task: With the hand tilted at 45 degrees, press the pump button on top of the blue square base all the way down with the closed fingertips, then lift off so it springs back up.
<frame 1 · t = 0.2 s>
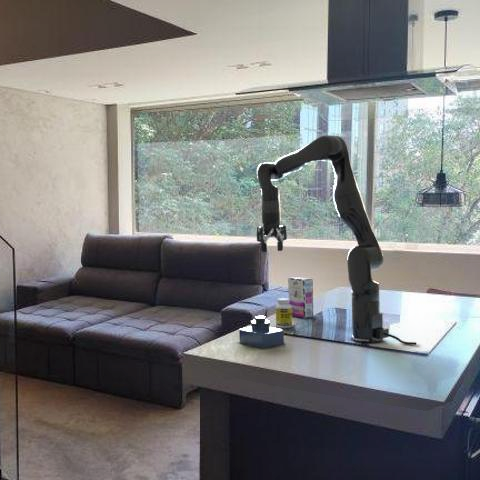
hand: (272, 251, 243), 29 cm above the table, tool pointing down, fingers open, 8 cm apart
pill bottle: (284, 327, 234), on the table
blue square base: (261, 343, 209), on the table
pump button: (260, 319, 213), point 8 cm above the table, slide at 0.1 cm
candy bar box: (301, 316, 254), on the table
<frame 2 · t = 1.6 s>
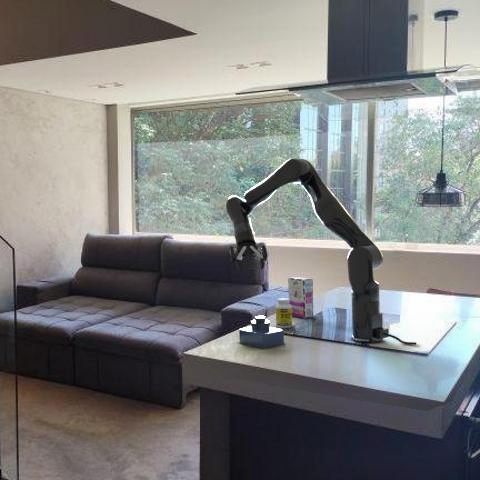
hand: (251, 268, 224), 25 cm above the table, tool tilted 45°, fingers open, 7 cm apart
nothing on the table moved.
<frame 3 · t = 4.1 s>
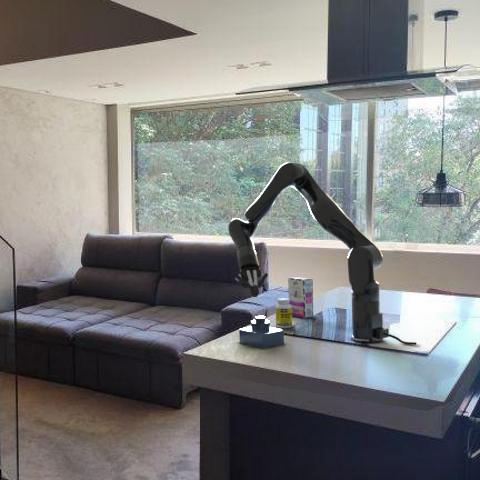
hand: (255, 295, 220), 15 cm above the table, tool tilted 45°, fingers closed
nothing on the table moved.
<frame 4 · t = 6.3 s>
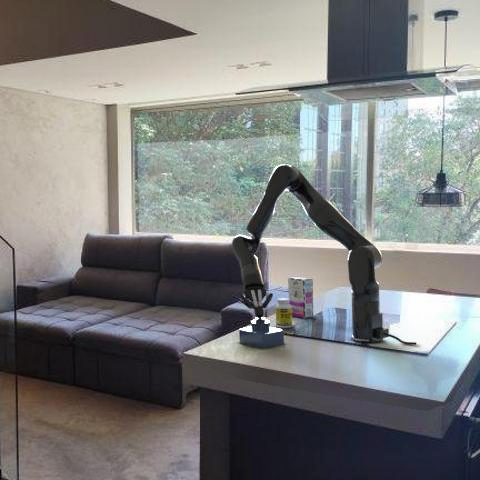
hand: (260, 316, 213), 9 cm above the table, tool tilted 45°, fingers closed
pump button: (260, 321, 213), point 7 cm above the table, slide at -0.4 cm, touching gripper
everything else where it was.
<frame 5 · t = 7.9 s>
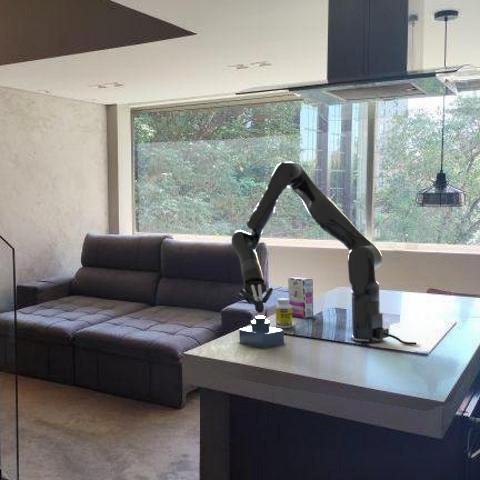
hand: (260, 311, 212), 11 cm above the table, tool tilted 45°, fingers closed
pump button: (260, 319, 213), point 8 cm above the table, slide at 0.1 cm
everything else where it was.
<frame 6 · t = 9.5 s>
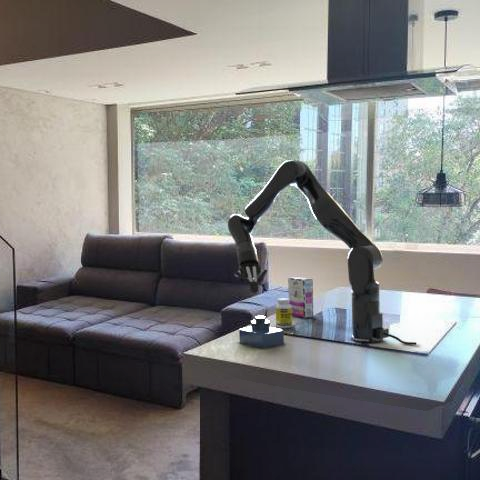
hand: (254, 292, 219), 17 cm above the table, tool tilted 45°, fingers closed
nothing on the table moved.
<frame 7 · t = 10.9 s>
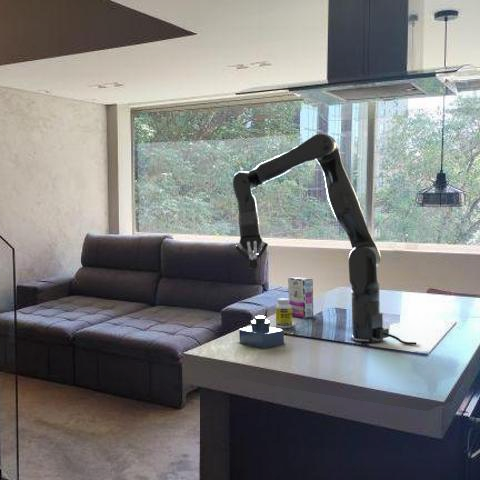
hand: (253, 268, 226), 24 cm above the table, tool pointing down, fingers closed
nothing on the table moved.
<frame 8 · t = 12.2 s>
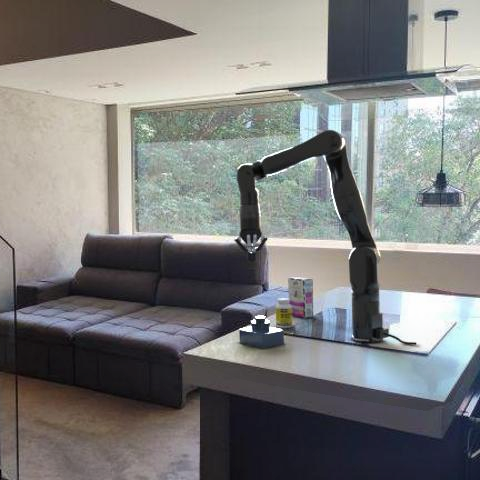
hand: (251, 262, 225), 27 cm above the table, tool pointing down, fingers closed
nothing on the table moved.
at the end: pump button pushed in 1.5 cm at the most during the clip and back out by the end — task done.
